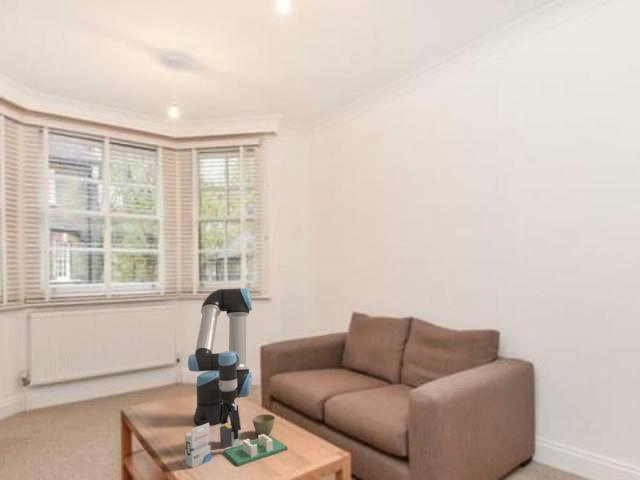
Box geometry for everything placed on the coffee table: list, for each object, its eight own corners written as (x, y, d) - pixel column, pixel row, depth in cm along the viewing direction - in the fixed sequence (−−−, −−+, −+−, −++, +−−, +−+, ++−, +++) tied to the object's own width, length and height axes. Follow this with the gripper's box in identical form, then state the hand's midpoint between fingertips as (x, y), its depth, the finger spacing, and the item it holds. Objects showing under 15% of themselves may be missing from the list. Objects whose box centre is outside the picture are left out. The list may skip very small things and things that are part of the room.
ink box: (203, 456, 173) (202, 419, 173) (211, 460, 170) (210, 422, 170) (184, 464, 166) (184, 426, 167) (192, 468, 163) (191, 429, 164)
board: (223, 453, 175) (223, 440, 175) (270, 438, 188) (270, 426, 188) (238, 466, 164) (238, 452, 164) (287, 449, 177) (287, 436, 177)
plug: (220, 445, 183) (220, 426, 183) (233, 441, 186) (233, 422, 187) (224, 448, 180) (223, 429, 180) (237, 444, 183) (237, 425, 183)
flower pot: (271, 439, 187) (270, 422, 187) (249, 438, 189) (249, 421, 189) (278, 430, 197) (277, 414, 197) (257, 429, 199) (257, 413, 199)
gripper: (210, 386, 190) (211, 438, 188) (231, 396, 172) (233, 453, 170) (225, 382, 194) (227, 433, 193) (248, 392, 177) (250, 448, 175)
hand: (230, 443), depth 182 cm, fingers open, 9 cm apart
